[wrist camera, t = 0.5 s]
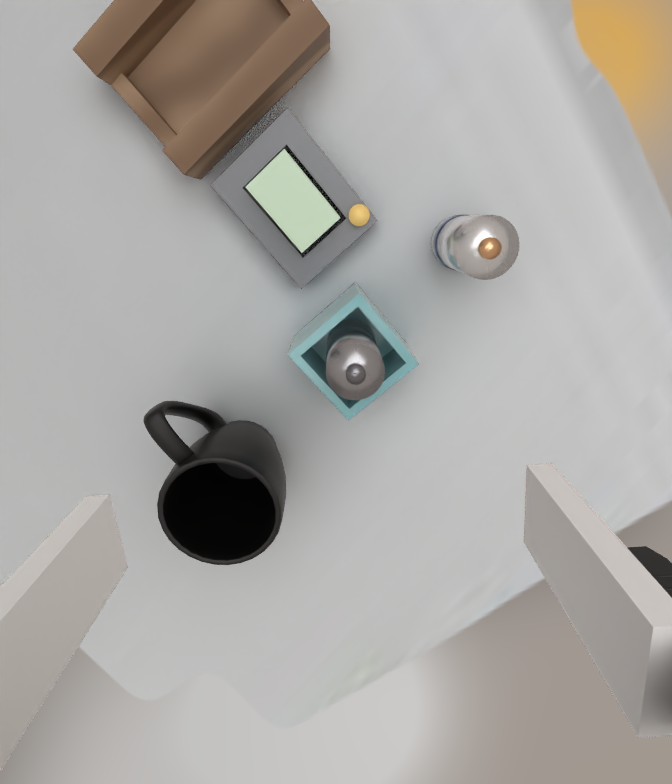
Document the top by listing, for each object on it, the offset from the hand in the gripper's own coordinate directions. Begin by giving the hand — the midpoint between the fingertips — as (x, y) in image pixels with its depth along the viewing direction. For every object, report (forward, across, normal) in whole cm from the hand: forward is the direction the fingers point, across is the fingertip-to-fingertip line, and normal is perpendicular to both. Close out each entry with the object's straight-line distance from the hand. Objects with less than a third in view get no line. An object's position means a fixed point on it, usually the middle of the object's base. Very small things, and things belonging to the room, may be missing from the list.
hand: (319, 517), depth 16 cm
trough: (+24, -6, +20) cm, 32 cm away
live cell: (+24, +10, +7) cm, 27 cm away
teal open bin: (+24, +2, 0) cm, 24 cm away
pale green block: (+23, -2, +10) cm, 25 cm away
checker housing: (+24, -2, +10) cm, 26 cm away
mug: (+25, -9, -7) cm, 27 cm away
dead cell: (+24, +2, 0) cm, 24 cm away
